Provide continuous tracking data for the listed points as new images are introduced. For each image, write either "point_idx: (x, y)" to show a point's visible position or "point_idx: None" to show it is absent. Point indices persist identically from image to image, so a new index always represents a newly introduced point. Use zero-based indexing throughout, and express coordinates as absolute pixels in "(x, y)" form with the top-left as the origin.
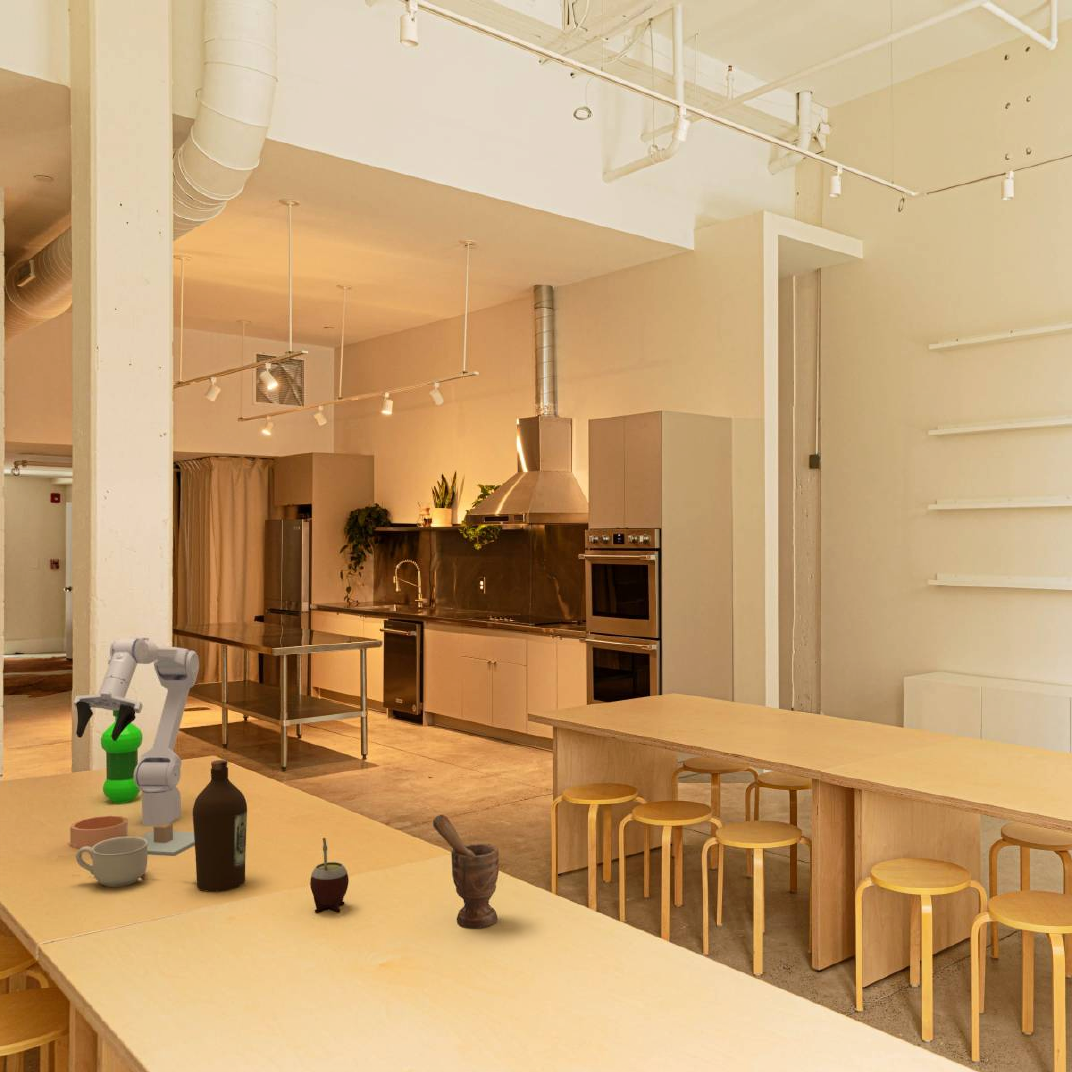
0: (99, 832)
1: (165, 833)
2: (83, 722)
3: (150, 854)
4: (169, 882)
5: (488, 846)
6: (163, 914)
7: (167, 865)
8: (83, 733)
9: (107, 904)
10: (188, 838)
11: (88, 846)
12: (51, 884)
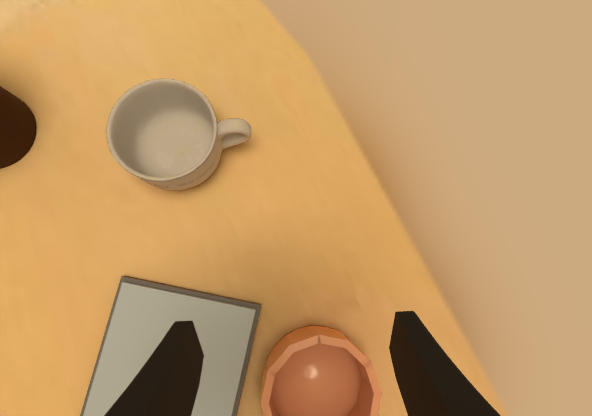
0: (297, 340)
1: None
2: (429, 409)
3: (174, 287)
4: (94, 146)
5: None
6: (58, 5)
7: (127, 240)
8: (398, 383)
9: (163, 53)
10: (119, 382)
11: (227, 127)
12: (295, 149)
